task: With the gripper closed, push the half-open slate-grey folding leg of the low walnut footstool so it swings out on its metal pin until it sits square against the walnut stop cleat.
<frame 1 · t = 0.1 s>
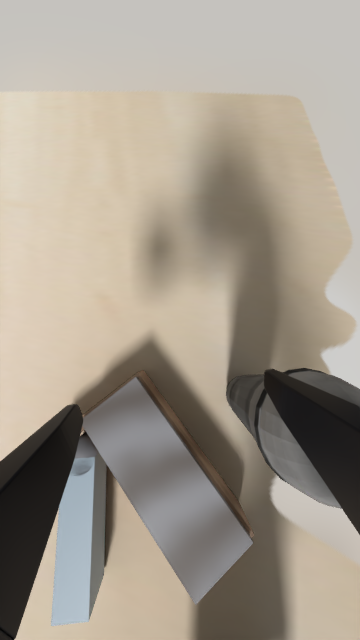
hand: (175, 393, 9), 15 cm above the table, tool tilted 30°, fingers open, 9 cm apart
beverage cup: (243, 394, 23), on the table
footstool: (164, 453, 22), on the table
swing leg: (84, 509, 19), point 2 cm above the table, hinge at 35.0°
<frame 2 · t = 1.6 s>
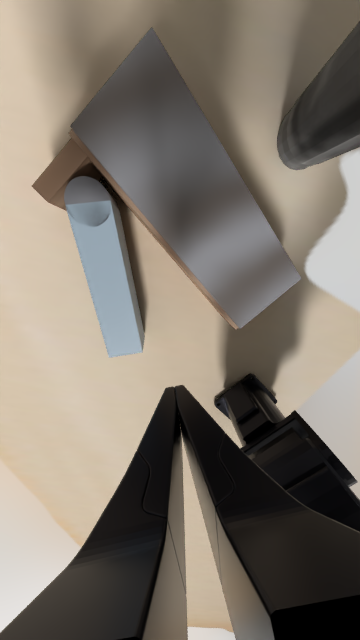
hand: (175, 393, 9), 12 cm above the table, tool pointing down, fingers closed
beverage cup: (300, 139, 16), on the table
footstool: (194, 225, 18), on the table
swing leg: (112, 277, 16), point 2 cm above the table, hinge at 35.0°
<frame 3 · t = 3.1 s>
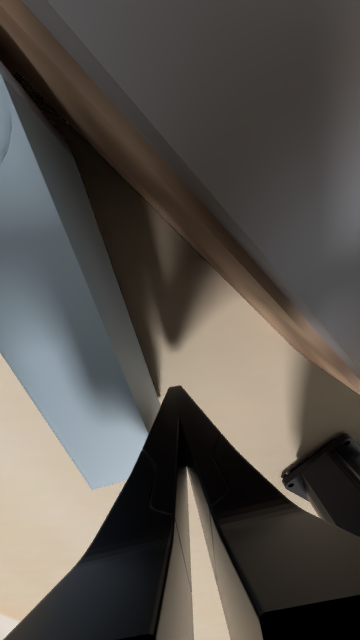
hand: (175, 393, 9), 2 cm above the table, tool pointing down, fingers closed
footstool: (245, 178, 8), on the table
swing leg: (75, 317, 7), point 2 cm above the table, hinge at 35.3°, touching gripper
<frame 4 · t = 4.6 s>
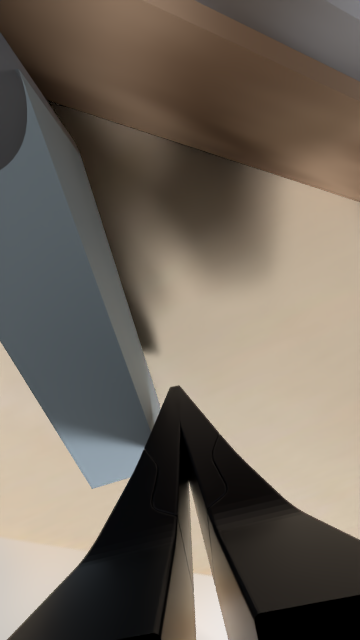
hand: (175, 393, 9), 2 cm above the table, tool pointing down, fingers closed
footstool: (229, 31, 7), on the table
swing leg: (79, 314, 7), point 2 cm above the table, hinge at 67.6°, touching gripper
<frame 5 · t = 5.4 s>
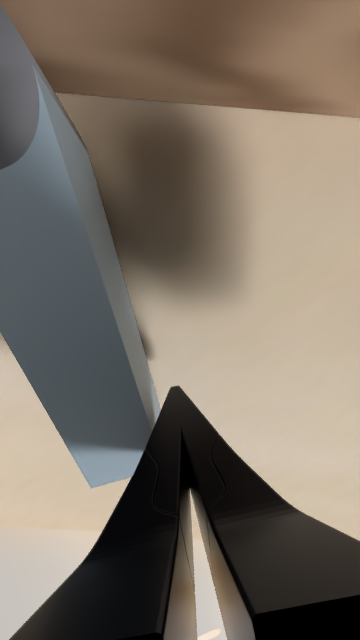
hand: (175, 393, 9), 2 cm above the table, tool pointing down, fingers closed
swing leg: (82, 312, 7), point 2 cm above the table, hinge at 81.1°, touching gripper
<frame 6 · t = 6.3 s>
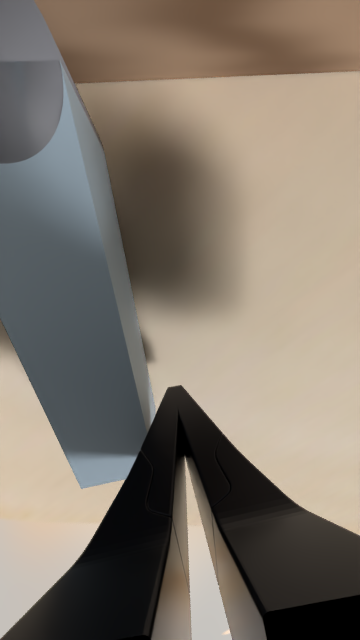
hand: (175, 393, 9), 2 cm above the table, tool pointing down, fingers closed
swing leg: (86, 309, 7), point 2 cm above the table, hinge at 90.4°, touching gripper
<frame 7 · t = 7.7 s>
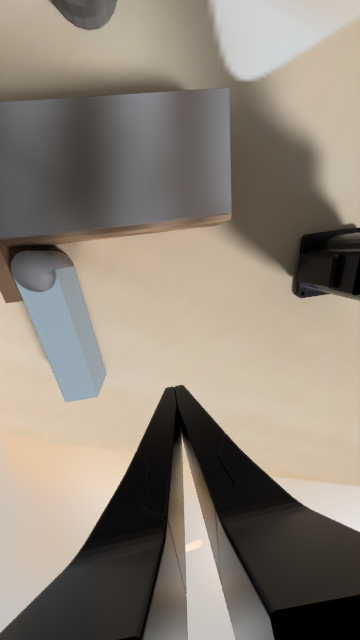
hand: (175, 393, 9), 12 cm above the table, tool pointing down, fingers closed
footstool: (109, 191, 16), on the table
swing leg: (67, 328, 17), point 2 cm above the table, hinge at 90.4°
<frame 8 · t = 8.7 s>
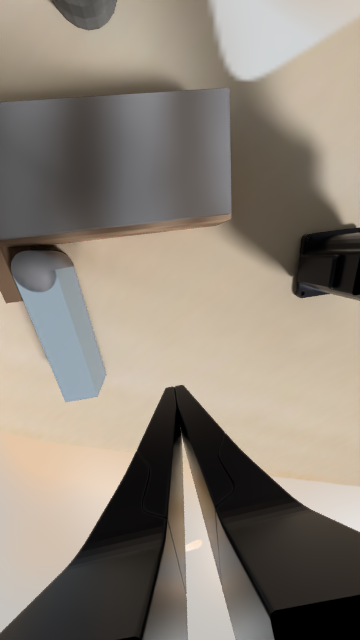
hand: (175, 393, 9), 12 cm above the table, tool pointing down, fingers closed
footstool: (109, 191, 16), on the table
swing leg: (67, 328, 17), point 2 cm above the table, hinge at 90.4°
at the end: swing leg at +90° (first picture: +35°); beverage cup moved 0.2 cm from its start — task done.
